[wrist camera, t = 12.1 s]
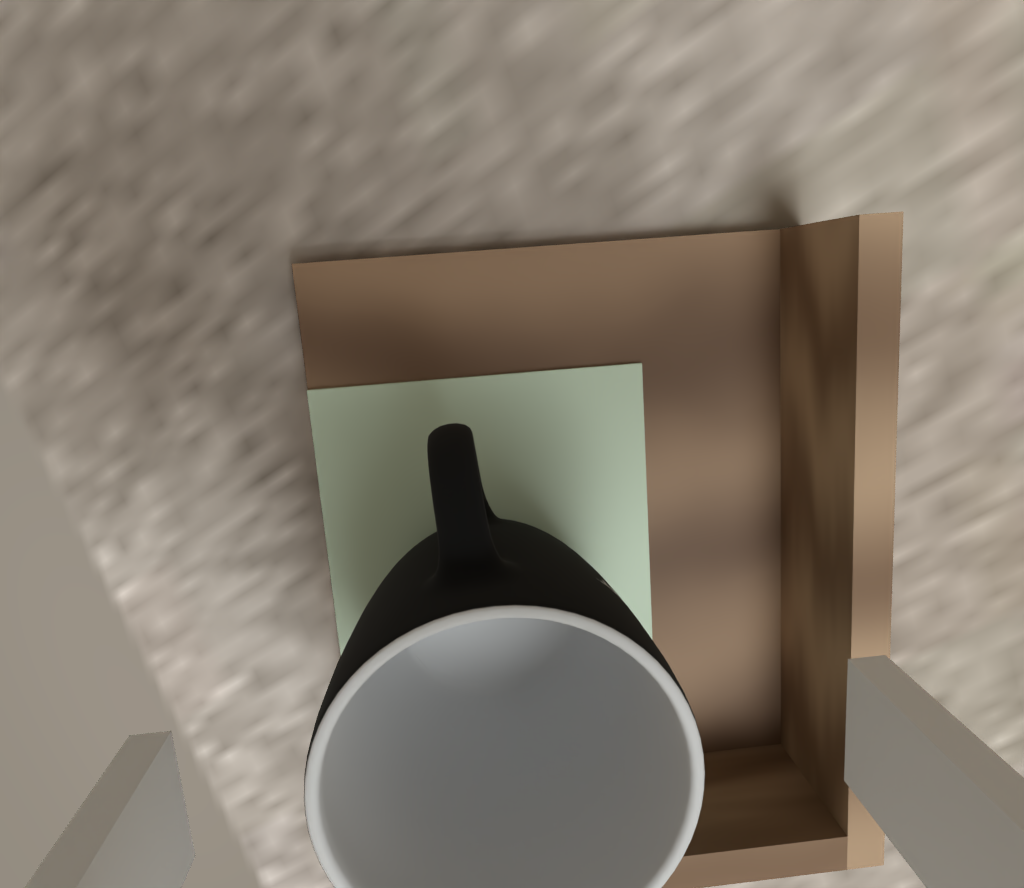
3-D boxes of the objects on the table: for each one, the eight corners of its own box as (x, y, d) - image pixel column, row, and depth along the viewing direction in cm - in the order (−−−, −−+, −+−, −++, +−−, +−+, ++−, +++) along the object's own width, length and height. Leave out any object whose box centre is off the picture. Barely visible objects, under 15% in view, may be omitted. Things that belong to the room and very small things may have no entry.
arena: (297, 264, 25) (251, 257, 19) (802, 228, 26) (903, 211, 20) (365, 803, 29) (344, 932, 23) (800, 753, 30) (883, 865, 24)
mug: (629, 699, 28) (728, 925, 18) (384, 746, 28) (347, 1004, 18) (582, 374, 25) (667, 428, 16) (312, 420, 25) (222, 507, 15)
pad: (307, 389, 25) (306, 390, 25) (640, 362, 26) (642, 363, 25) (353, 747, 28) (352, 750, 27) (654, 714, 28) (655, 717, 28)
